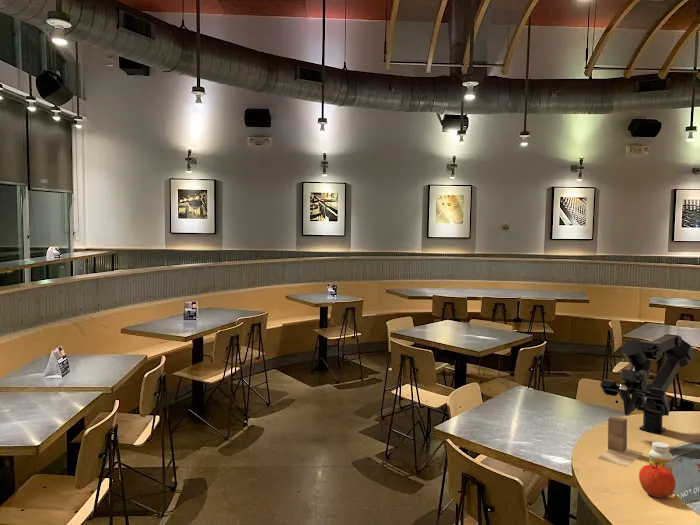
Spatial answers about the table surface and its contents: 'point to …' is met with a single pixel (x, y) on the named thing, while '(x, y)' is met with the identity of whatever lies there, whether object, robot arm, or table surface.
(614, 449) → the walnut block
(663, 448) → the supplement bottle
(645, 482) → the apple
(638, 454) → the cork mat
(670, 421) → the table surface
